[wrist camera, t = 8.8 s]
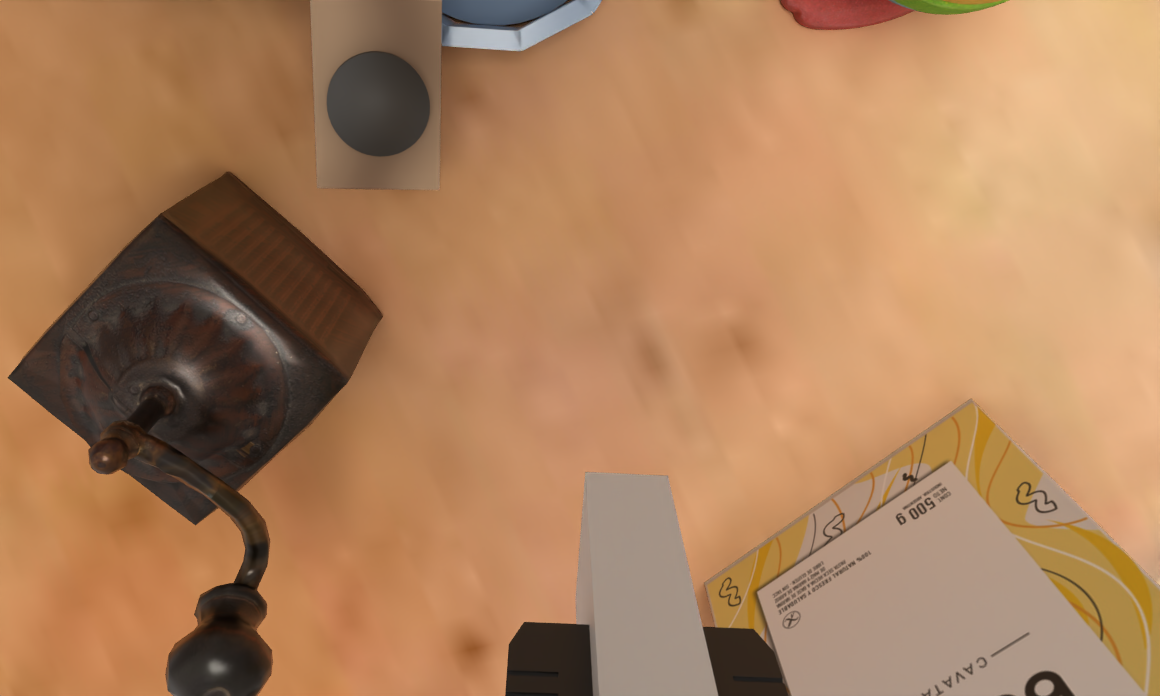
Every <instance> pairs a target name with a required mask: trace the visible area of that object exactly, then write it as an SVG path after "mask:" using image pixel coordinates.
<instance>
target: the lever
mask: <svg viewBox="0 0 1160 696" xmlns="http://www.w3.org/2000/svg"><path fill="white" fill-rule="evenodd" d="M310 12H311V39H312V66H313V92H314V119H315V146H316V173H317V188H337V189H397V190H440V122H441V35H442V0H310Z"/></svg>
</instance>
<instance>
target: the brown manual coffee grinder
mask: <svg viewBox="0 0 1160 696" xmlns="http://www.w3.org/2000/svg"><path fill="white" fill-rule="evenodd" d="M382 317H383V316H382V314H381V313H380V312H379V310H378V309H377V308H376V306H375V305H374V304H373V303H372V301H371V300H370V299H369V297H368V296H367V295H366V294H365V292H364V291H363V290H362V289H361V288H360V287H359V286H358V285H357V284H356V283H355V282H354V281H353V280H352V279H351V278H350V277H349V276H348V275H347V274H346V273H344V272H343V271H342V270H341V269H340V268H339V267H338V266H337V265H336V264H335V263H334V262H333V261H332V260H331V259H329V258H328V257H327V256H326V255H325V254H324V253H323V252H322V251H321V250H320V249H319V248H317V247H316V246H315V245H314V244H313V243H312V242H311V241H310V240H309V239H308V238H306V237H305V236H304V235H303V234H302V233H301V232H300V231H299V230H298V229H297V228H295V227H294V226H293V225H292V224H291V223H289V222H288V221H287V220H286V219H285V218H284V217H282V216H281V215H280V214H279V213H278V212H276V211H275V210H274V209H273V208H272V207H271V206H269V205H268V204H267V203H266V202H265V201H264V200H262V199H261V198H260V197H259V196H258V195H256V194H255V193H254V192H253V191H252V190H251V189H249V188H248V187H247V186H246V185H245V184H243V183H242V182H241V181H240V180H239V179H238V178H236V177H235V176H234V175H233V174H232V173H231V172H227V173H225V174H224V175H223V176H222V177H220V178H219V179H217V180H215V181H213V182H212V183H210V184H208V185H206V186H205V187H203V188H201V189H200V190H198V191H196V192H195V193H193V194H191V195H190V196H188V197H186V198H185V199H183V200H182V201H180V202H179V203H177V204H175V205H174V206H172V207H171V208H169V209H168V210H166V211H164V212H163V213H161V214H160V215H159V216H158V217H157V218H156V219H154V220H153V221H152V222H151V223H150V224H149V225H148V226H147V227H146V228H145V229H143V230H142V231H141V232H140V233H139V234H138V235H137V236H136V237H135V238H134V239H133V240H131V241H130V242H129V243H128V244H127V245H126V246H125V247H124V248H123V249H122V250H121V251H120V253H119V254H118V255H117V256H116V257H115V258H114V259H113V260H112V261H111V262H110V263H109V264H108V265H107V266H106V267H105V268H104V269H103V271H102V272H101V273H100V274H99V275H98V276H97V277H96V278H95V279H94V280H93V281H92V282H91V283H90V284H89V285H88V287H87V288H86V289H85V290H84V291H83V292H82V293H81V294H80V295H79V296H78V297H77V298H76V299H75V300H74V301H73V303H72V304H71V305H70V306H69V307H68V308H67V309H66V310H65V311H64V312H63V313H62V314H61V315H60V316H59V317H58V319H57V320H56V321H55V322H54V323H53V324H52V325H51V326H50V327H49V328H48V329H47V330H46V331H45V333H44V334H43V335H42V336H41V337H40V338H39V340H38V341H37V342H36V343H35V344H34V345H33V347H32V348H31V349H30V350H29V351H28V352H27V354H26V355H25V356H24V357H23V359H22V360H21V362H20V363H19V365H18V366H17V367H16V368H15V370H14V371H13V372H12V373H11V374H10V376H9V377H8V378H9V379H10V380H11V381H12V382H14V383H15V384H16V385H17V386H19V387H20V388H21V389H22V390H23V391H25V392H26V393H27V394H28V395H29V396H31V397H32V398H33V399H34V400H35V401H37V402H38V403H39V404H40V405H42V406H43V407H44V408H45V409H46V410H48V411H49V412H50V413H51V414H52V415H54V416H55V417H56V418H57V419H59V420H60V421H61V422H63V423H64V424H65V425H66V426H68V427H69V428H70V429H72V430H73V431H74V432H75V433H77V434H78V435H79V436H80V437H82V438H83V439H84V440H85V441H86V442H87V443H88V444H89V445H90V447H91V448H90V449H89V464H90V466H91V468H92V469H93V470H94V471H96V472H97V473H100V474H113V473H115V472H117V471H118V470H122V471H124V472H125V473H127V474H129V475H131V476H132V477H133V478H134V479H136V480H137V481H138V482H140V483H141V484H142V485H143V486H145V487H146V488H147V489H149V490H150V491H151V492H152V493H154V494H155V495H156V496H157V497H159V498H160V499H161V500H163V501H164V502H165V503H167V504H168V505H169V506H171V507H172V508H173V509H175V510H176V511H177V512H179V513H180V514H181V515H183V516H184V517H185V518H187V519H188V520H189V521H191V522H192V523H193V524H194V525H196V524H198V523H199V522H200V521H202V520H203V519H204V518H206V517H207V516H208V515H210V514H211V513H212V512H214V511H215V510H216V509H218V508H220V509H221V510H222V511H223V512H224V513H226V514H227V515H228V516H229V517H230V518H231V519H232V521H233V522H234V523H235V524H236V526H237V527H238V528H239V530H240V531H241V534H242V537H243V541H244V545H245V548H246V549H245V555H244V560H243V563H242V566H241V568H240V570H239V572H238V575H237V577H236V579H235V581H234V583H229V584H225V585H220V586H216V587H214V588H212V589H210V590H209V591H207V592H205V593H203V594H201V595H200V598H199V601H198V604H197V607H196V610H195V614H194V615H195V616H196V618H197V621H198V626H197V627H196V628H195V630H194V631H192V632H191V633H189V634H188V635H187V636H185V637H184V638H183V639H181V640H180V641H178V642H177V643H176V644H175V645H174V647H173V649H172V650H171V652H170V653H169V656H168V662H167V668H166V674H165V675H166V682H167V688H168V691H169V692H170V693H171V694H172V695H173V696H257V695H258V694H259V693H260V691H261V690H262V688H263V687H264V685H265V683H266V682H267V680H268V679H269V677H270V676H271V672H272V664H273V659H272V650H271V649H270V647H269V646H268V645H267V644H266V643H265V641H264V640H263V639H262V638H261V637H260V635H259V634H258V633H257V631H256V630H257V628H258V626H259V625H260V624H261V622H262V621H263V620H264V618H265V617H266V615H267V603H266V601H265V600H264V599H263V597H262V596H261V595H260V594H259V592H258V591H257V588H258V585H259V583H260V581H261V579H262V576H263V574H264V572H265V570H266V568H267V564H268V557H269V547H270V538H269V534H268V530H267V526H266V522H265V520H264V519H263V518H262V517H261V515H260V514H259V513H258V512H257V510H256V509H255V508H254V507H253V505H252V504H251V503H250V502H249V501H248V500H247V499H246V498H244V497H243V496H242V495H241V494H239V493H238V491H239V490H240V489H241V488H242V487H243V486H244V485H246V484H247V483H248V482H249V481H250V480H251V479H252V478H253V477H254V476H255V475H256V474H257V473H258V472H259V471H260V470H261V469H262V468H263V467H264V466H266V465H267V464H268V463H269V462H270V461H271V460H272V459H273V458H274V457H275V456H276V455H277V454H278V453H279V452H280V451H282V450H283V449H284V448H285V447H286V446H287V445H288V444H289V443H291V442H292V441H293V440H294V439H295V438H296V437H297V436H298V435H300V434H301V433H302V432H303V431H304V430H305V429H306V428H307V427H309V426H310V425H311V424H312V422H313V421H314V420H315V419H316V418H317V416H318V415H319V414H320V413H321V412H322V411H323V409H324V408H325V407H326V406H327V405H328V404H329V402H330V401H331V400H332V399H333V398H334V397H335V395H336V394H337V393H338V392H339V391H340V390H341V389H342V388H343V387H344V386H345V385H346V384H347V382H348V381H349V379H350V378H351V376H352V374H353V372H354V370H355V368H356V366H357V364H358V361H359V359H360V357H361V355H362V353H363V351H364V349H365V347H366V345H367V343H368V341H369V339H370V337H371V335H372V333H373V331H374V329H375V327H376V326H377V324H378V322H379V321H380V320H381V318H382Z"/></svg>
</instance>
